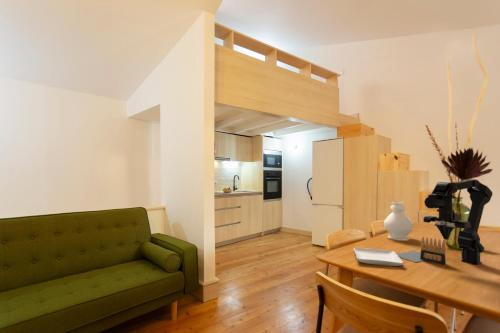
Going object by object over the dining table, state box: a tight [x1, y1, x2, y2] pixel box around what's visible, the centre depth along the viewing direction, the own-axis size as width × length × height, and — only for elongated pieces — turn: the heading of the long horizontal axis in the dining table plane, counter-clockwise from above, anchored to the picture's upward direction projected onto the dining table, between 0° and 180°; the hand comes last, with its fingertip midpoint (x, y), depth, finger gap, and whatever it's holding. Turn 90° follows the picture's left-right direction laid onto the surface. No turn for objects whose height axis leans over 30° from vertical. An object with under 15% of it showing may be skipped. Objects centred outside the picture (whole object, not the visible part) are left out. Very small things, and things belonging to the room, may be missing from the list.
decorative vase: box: [383, 201, 414, 242], centre depth 185 cm, size 18×18×25 cm
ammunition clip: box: [420, 236, 447, 265], centre depth 137 cm, size 11×2×12 cm, turn 49°
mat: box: [396, 250, 425, 263], centre depth 145 cm, size 13×18×1 cm
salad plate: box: [353, 247, 404, 267], centre depth 140 cm, size 21×21×3 cm
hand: (446, 239), depth 131 cm, fingers closed
